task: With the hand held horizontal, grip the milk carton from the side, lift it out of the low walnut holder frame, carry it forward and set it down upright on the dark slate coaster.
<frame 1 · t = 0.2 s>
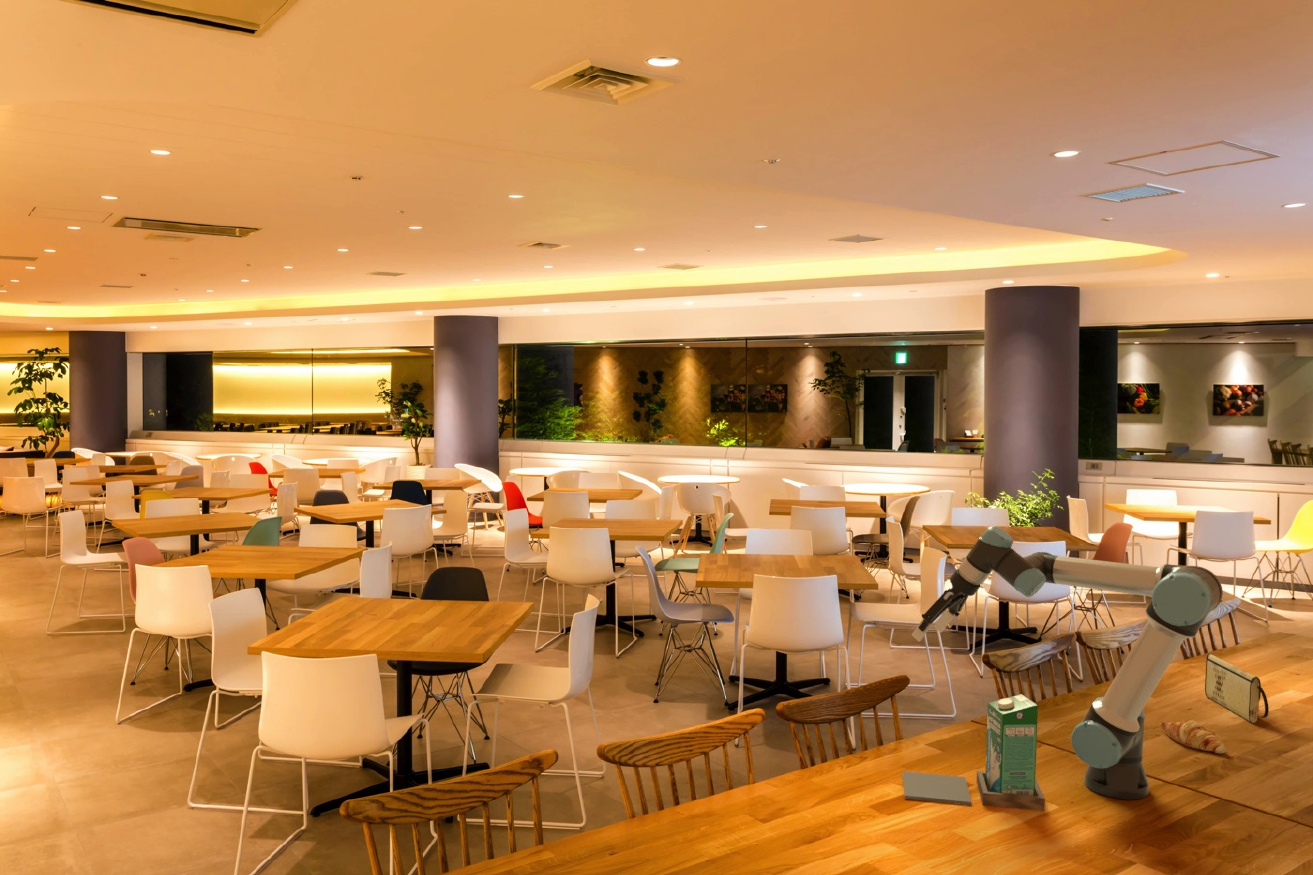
hand: (926, 633, 275), 35 cm above the table, tool tilted 35°, fingers open, 13 cm apart
croissant: (1192, 745, 289), on the table
clutch purse: (1235, 710, 321), on the table
holder frame: (1009, 796, 250), on the table
slate coaster: (935, 789, 254), on the table
milk carton: (1009, 796, 250), resting in holder frame
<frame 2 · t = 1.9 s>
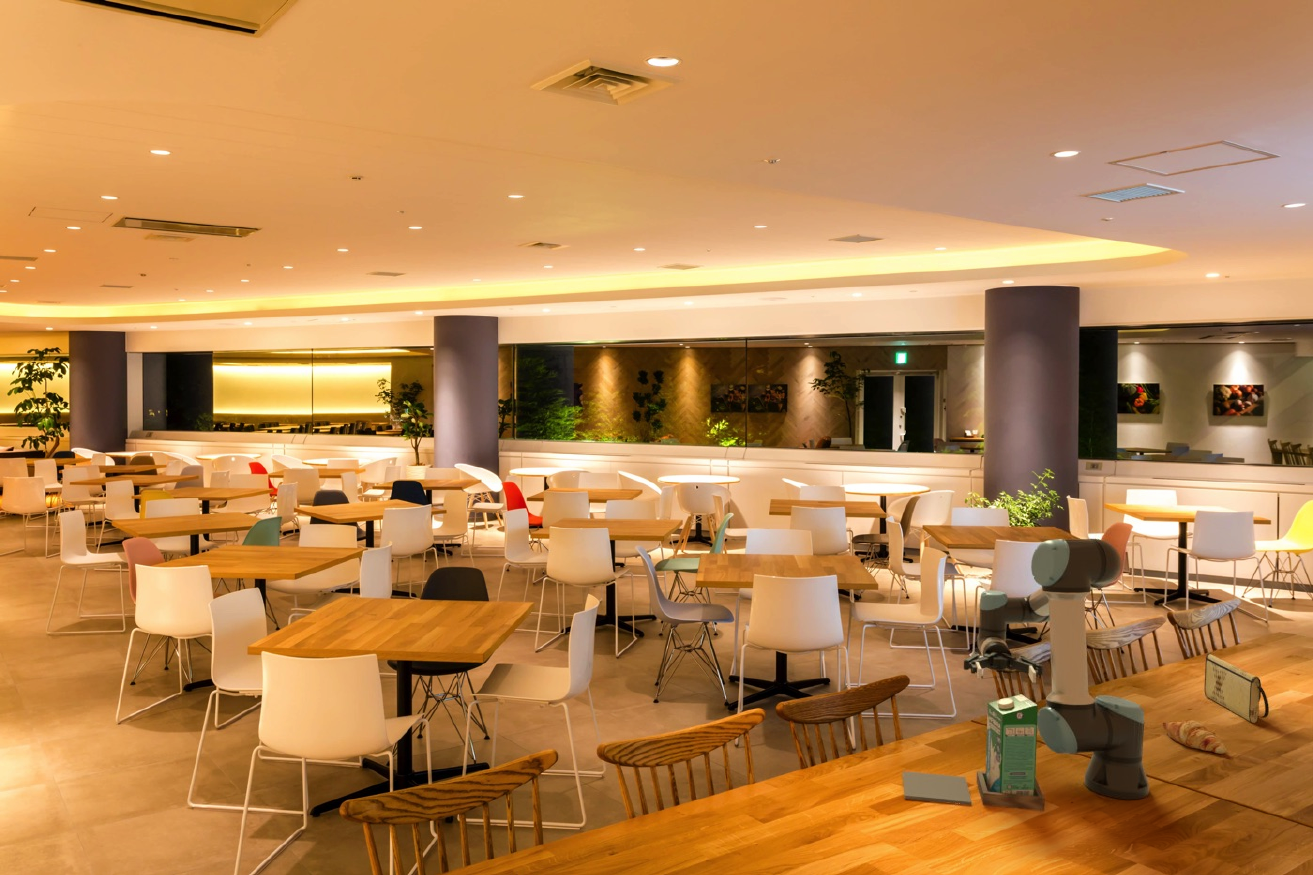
hand: (1007, 675, 259), 28 cm above the table, tool horizontal, fingers open, 13 cm apart
nothing on the table moved.
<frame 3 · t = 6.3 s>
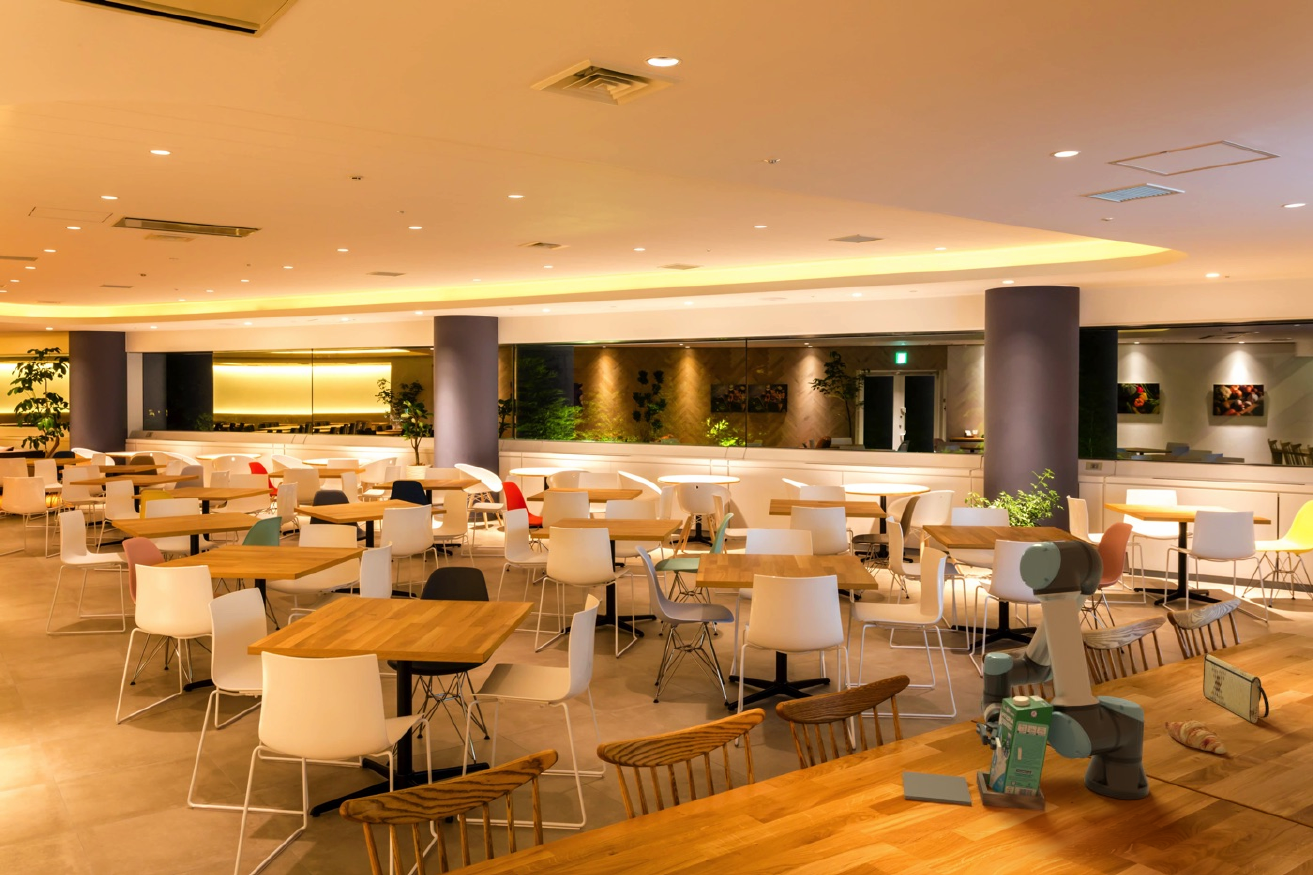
hand: (1009, 753, 245), 13 cm above the table, tool horizontal, fingers open, 4 cm apart
milk carton: (1011, 794, 250), resting in holder frame, touching arm, gripper
everything else where it was.
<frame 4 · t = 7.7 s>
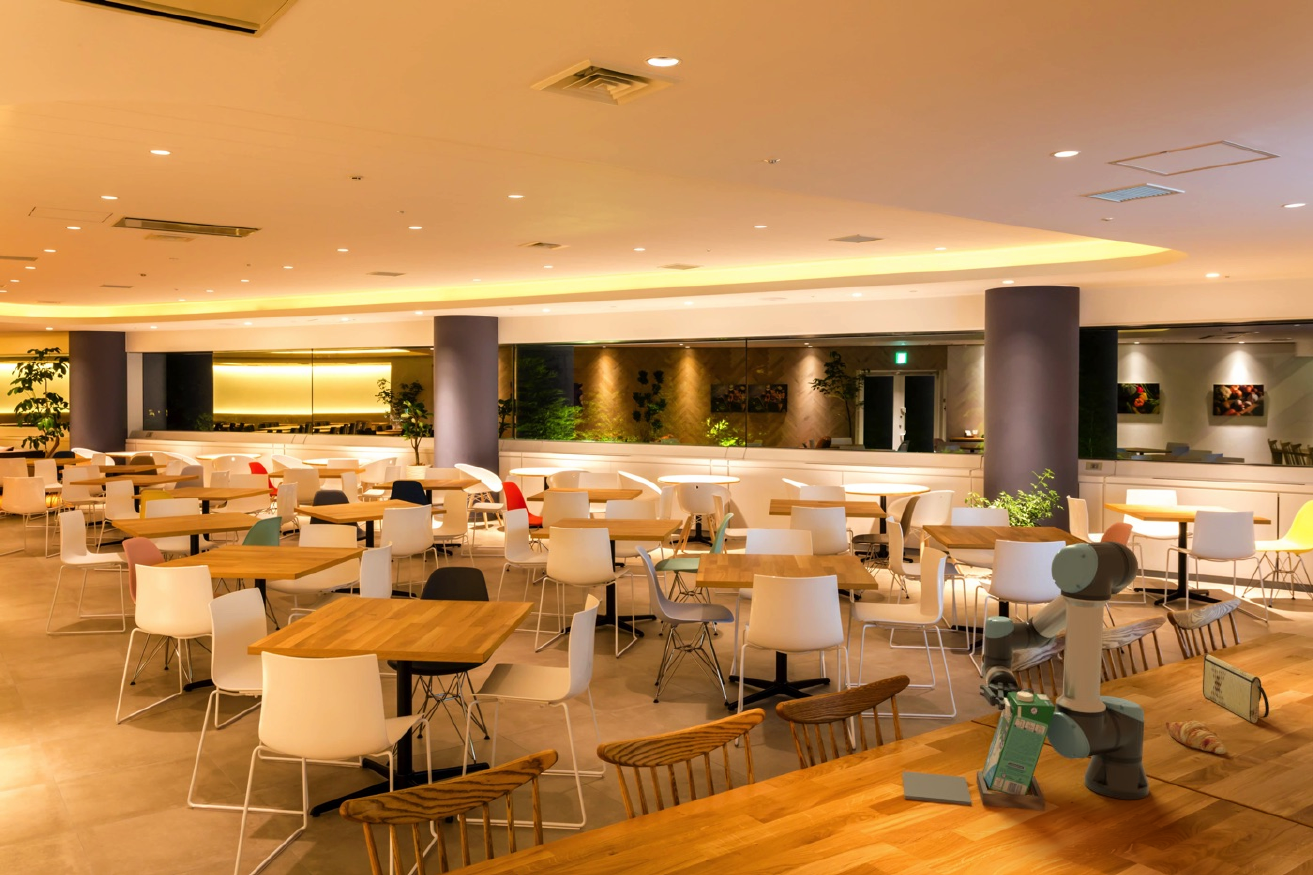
hand: (1013, 711, 244), 24 cm above the table, tool horizontal, fingers closed on milk carton, 2 cm apart
milk carton: (1002, 787, 250), point 2 cm above the table, touching arm, gripper
everything else where it was.
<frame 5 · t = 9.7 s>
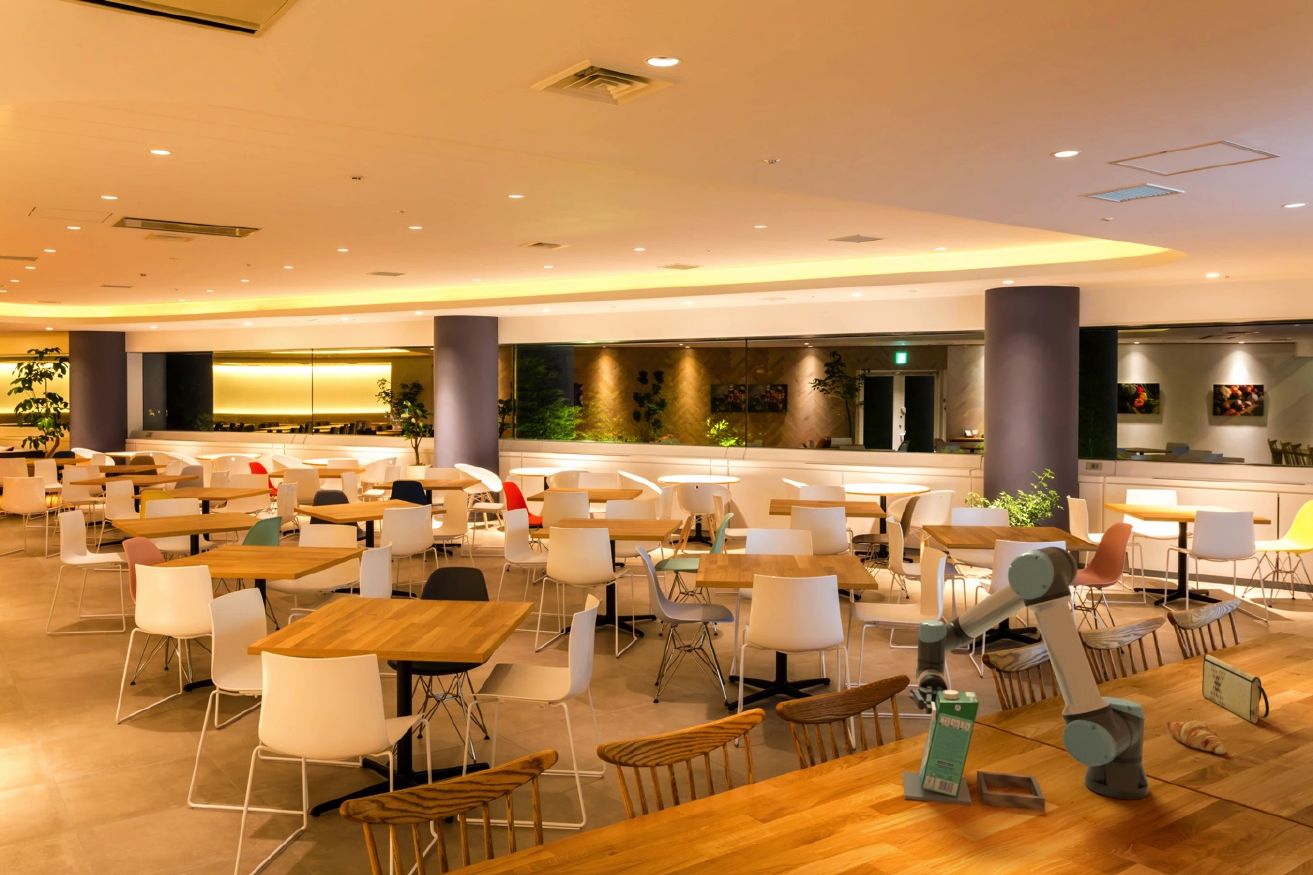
hand: (938, 715, 248), 21 cm above the table, tool horizontal, fingers closed
milk carton: (937, 786, 252), point 1 cm above the table, touching slate coaster
everything else where it was.
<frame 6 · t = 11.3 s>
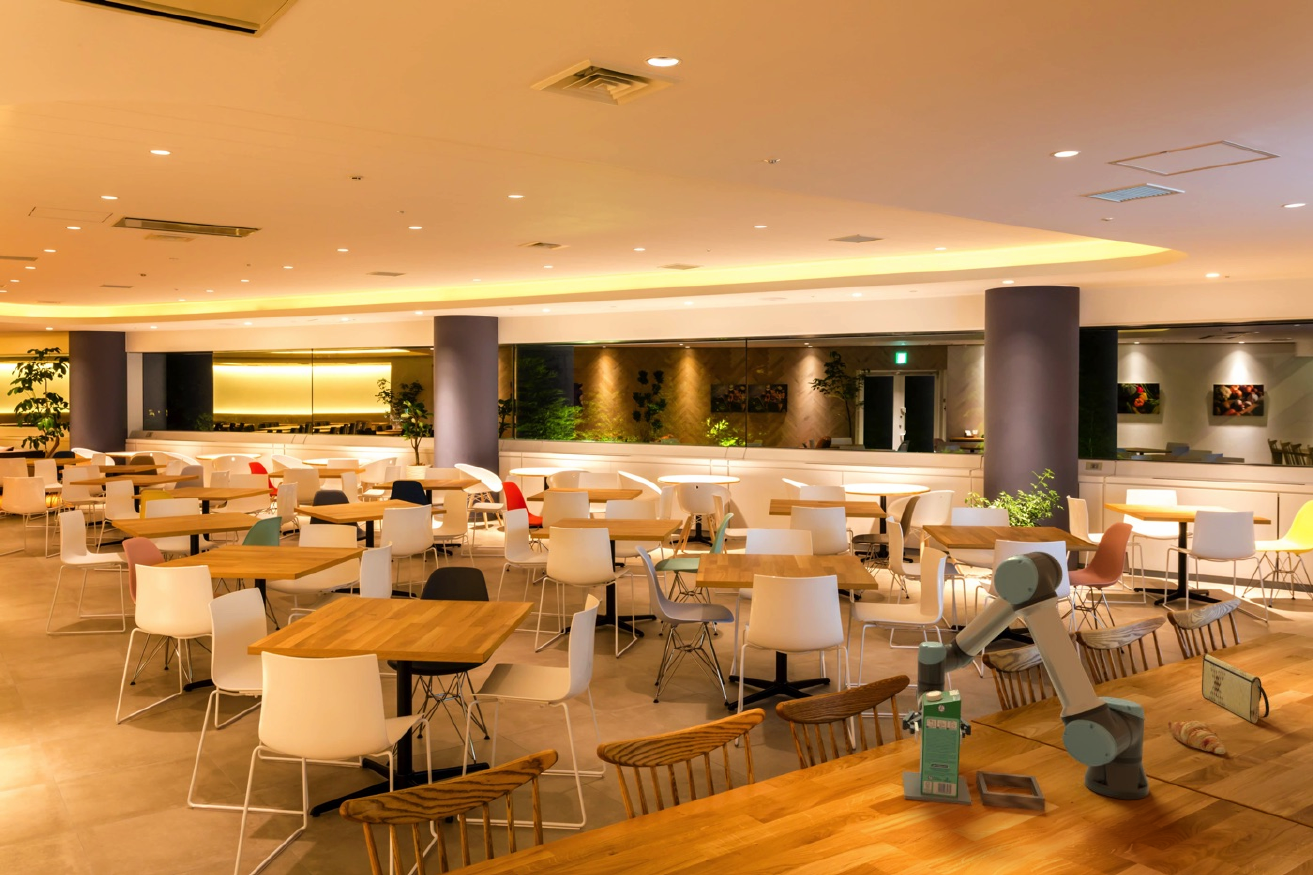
hand: (938, 737, 249), 15 cm above the table, tool horizontal, fingers open, 10 cm apart
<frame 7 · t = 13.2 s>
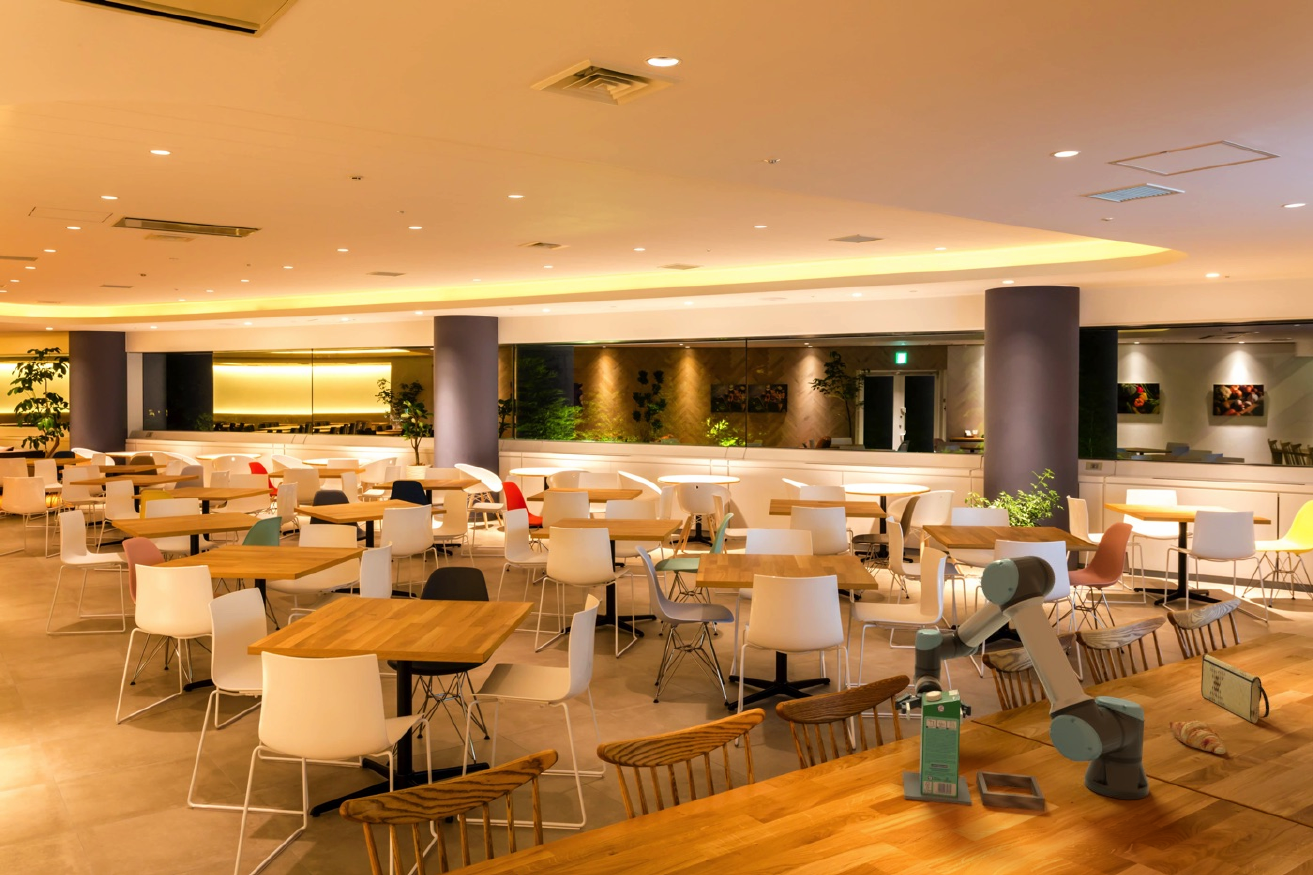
hand: (934, 717, 264), 15 cm above the table, tool horizontal, fingers open, 13 cm apart
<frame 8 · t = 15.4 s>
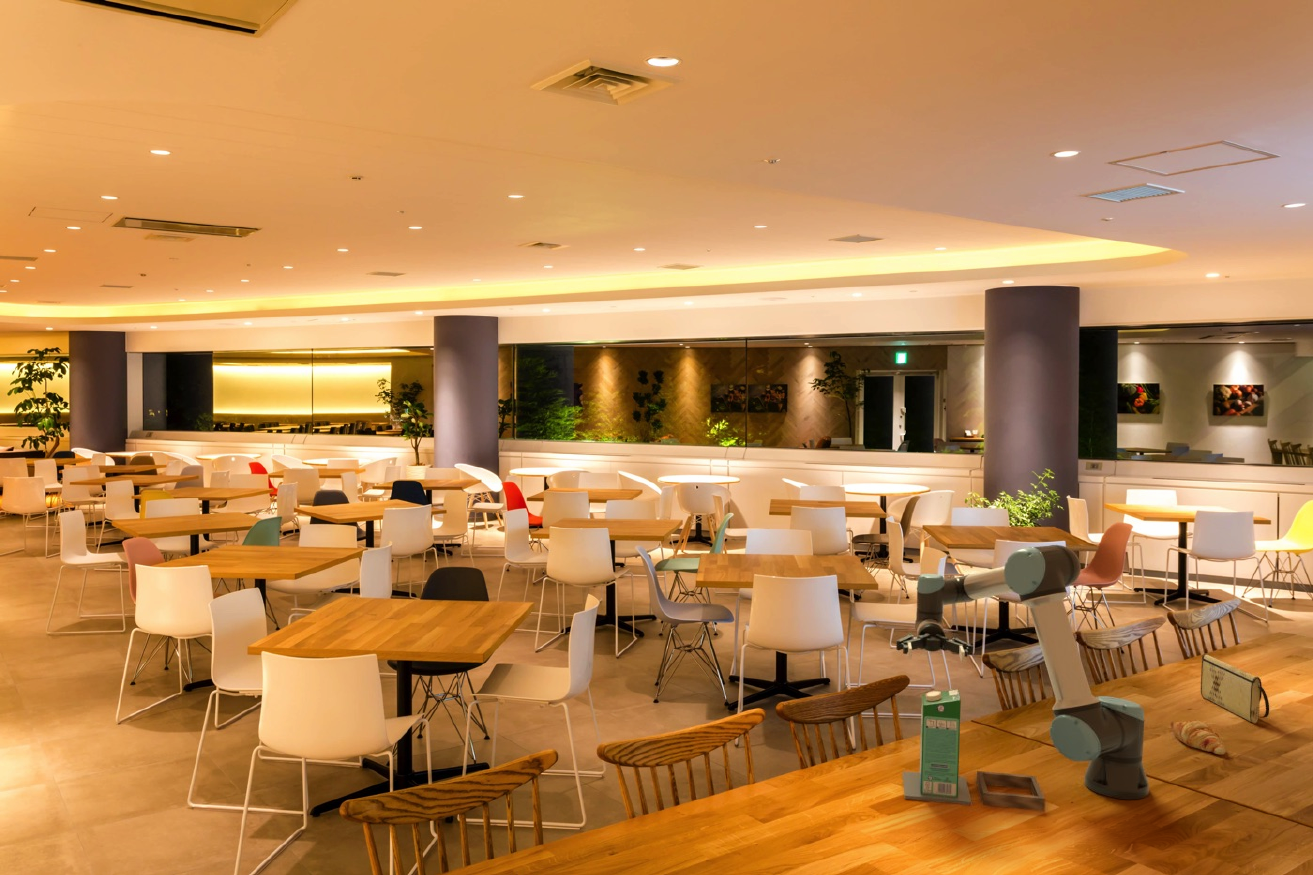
hand: (936, 655, 263), 32 cm above the table, tool horizontal, fingers open, 13 cm apart
at the end: milk carton 1.6 cm from the slate coaster (horizontally); milk carton tilted 0°; the gripper is holding nothing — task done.
